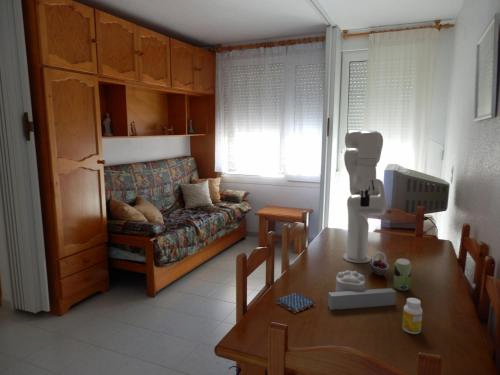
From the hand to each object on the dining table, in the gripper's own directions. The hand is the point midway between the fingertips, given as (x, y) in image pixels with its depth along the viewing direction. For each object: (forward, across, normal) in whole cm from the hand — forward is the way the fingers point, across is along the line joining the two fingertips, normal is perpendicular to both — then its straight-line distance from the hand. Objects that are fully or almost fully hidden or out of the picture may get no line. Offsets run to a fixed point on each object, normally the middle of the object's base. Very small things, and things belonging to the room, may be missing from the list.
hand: (364, 206), depth 152 cm
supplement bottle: (+29, +44, -3) cm, 53 cm away
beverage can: (+30, +15, +10) cm, 36 cm away
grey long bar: (+30, +27, -12) cm, 41 cm away
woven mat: (+30, +23, -35) cm, 51 cm away
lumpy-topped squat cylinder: (+30, +18, -12) cm, 37 cm away
